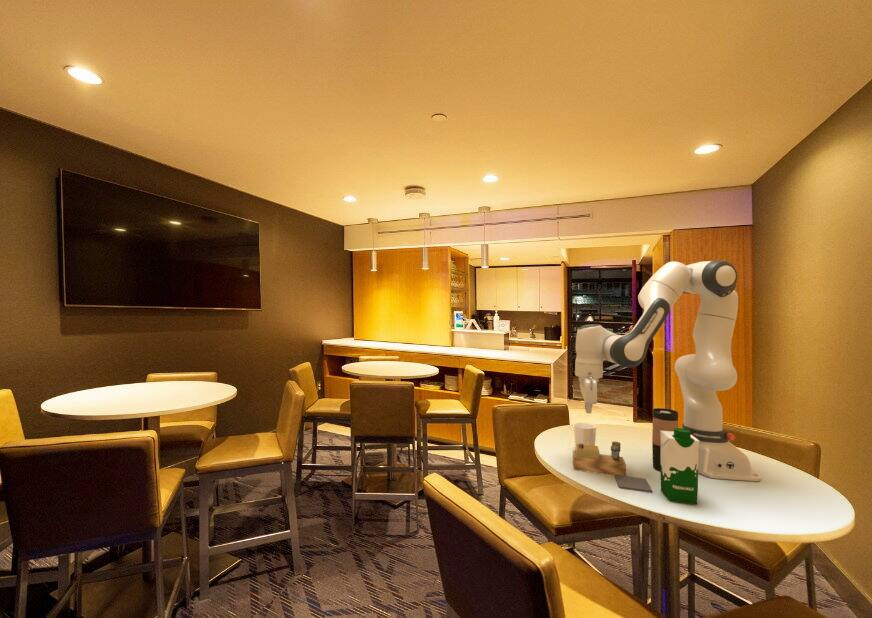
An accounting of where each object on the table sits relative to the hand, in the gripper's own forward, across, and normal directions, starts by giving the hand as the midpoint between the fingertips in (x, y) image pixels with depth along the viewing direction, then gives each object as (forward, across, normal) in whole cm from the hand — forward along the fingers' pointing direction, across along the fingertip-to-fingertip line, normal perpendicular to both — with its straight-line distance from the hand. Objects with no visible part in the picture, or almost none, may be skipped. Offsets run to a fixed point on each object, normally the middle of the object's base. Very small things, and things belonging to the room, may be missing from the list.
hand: (588, 411), depth 131 cm
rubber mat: (+19, -9, -12) cm, 25 cm away
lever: (+12, -3, -8) cm, 15 cm away
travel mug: (+19, +8, -26) cm, 33 cm away
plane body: (+19, 0, -4) cm, 20 cm away
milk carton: (+19, -14, -24) cm, 33 cm away
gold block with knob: (+15, 0, 0) cm, 15 cm away
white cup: (+19, +17, 0) cm, 26 cm away
